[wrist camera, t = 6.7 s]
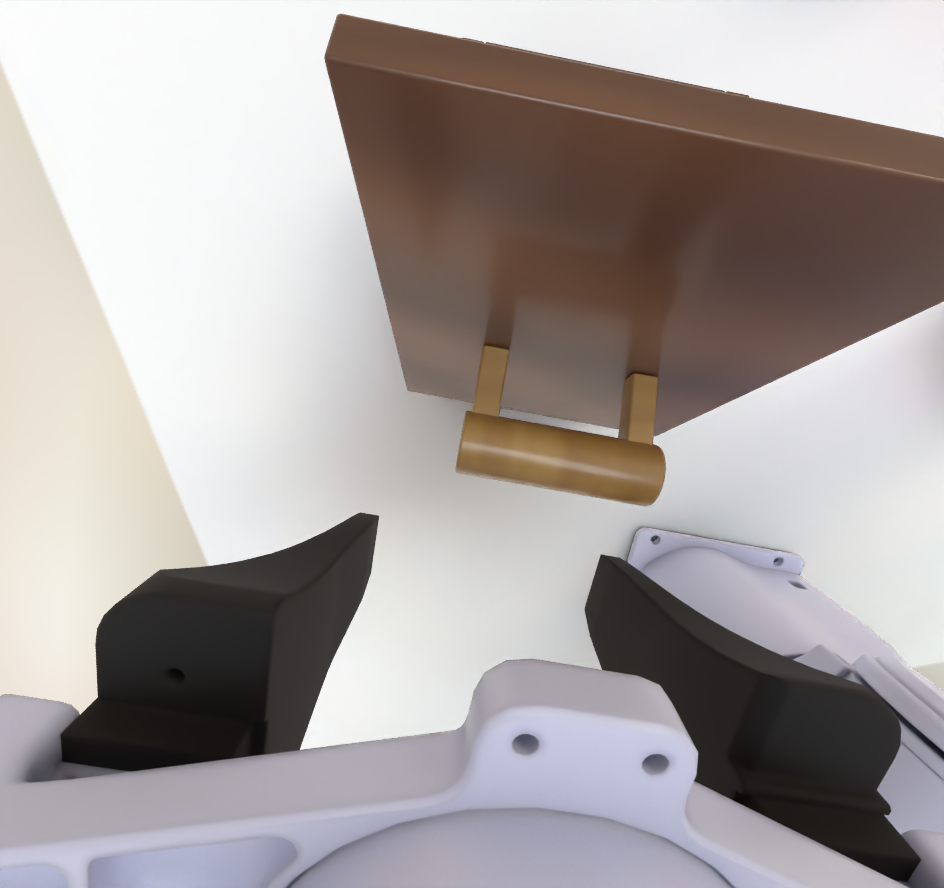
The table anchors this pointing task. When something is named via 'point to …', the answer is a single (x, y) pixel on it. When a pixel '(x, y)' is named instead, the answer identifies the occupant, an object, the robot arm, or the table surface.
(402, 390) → the table surface
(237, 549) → the table surface
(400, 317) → the bin lid
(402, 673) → the table surface
